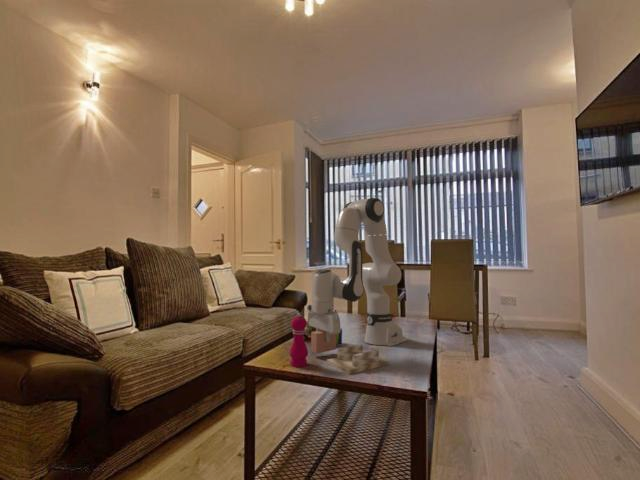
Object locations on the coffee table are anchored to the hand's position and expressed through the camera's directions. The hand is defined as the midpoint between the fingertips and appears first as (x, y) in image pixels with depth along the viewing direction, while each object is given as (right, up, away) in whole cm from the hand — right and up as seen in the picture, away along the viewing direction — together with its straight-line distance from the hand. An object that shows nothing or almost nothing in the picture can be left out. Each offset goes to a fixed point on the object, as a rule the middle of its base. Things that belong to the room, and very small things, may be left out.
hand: (323, 340), depth 140 cm
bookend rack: (+13, -6, -11) cm, 18 cm away
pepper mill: (-10, -6, -12) cm, 16 cm away
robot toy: (0, -8, +19) cm, 20 cm away
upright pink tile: (0, -4, 0) cm, 4 cm away
